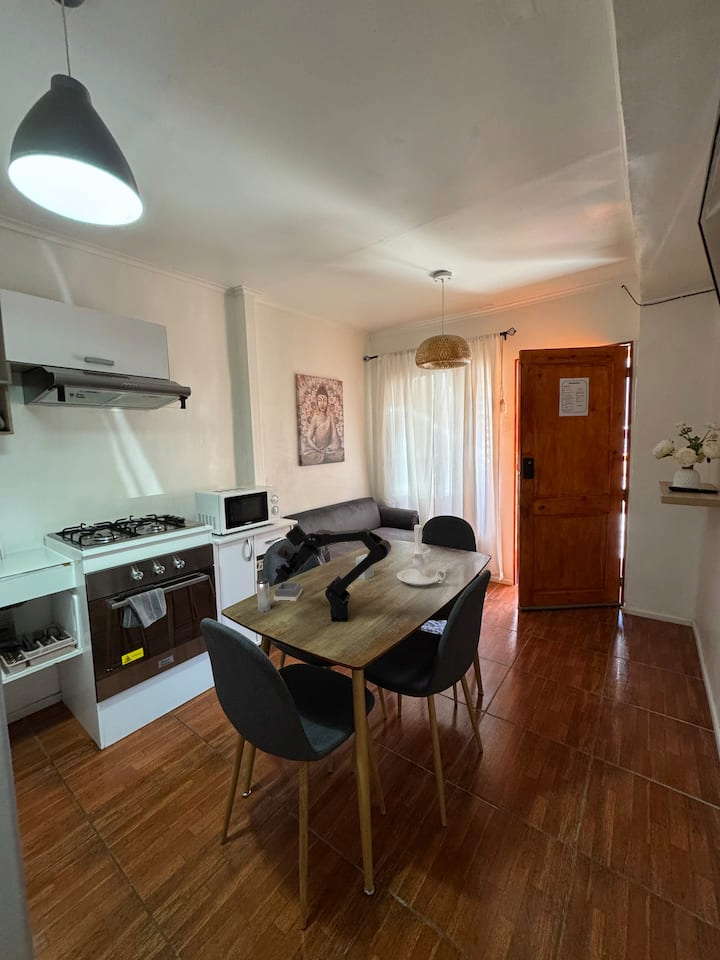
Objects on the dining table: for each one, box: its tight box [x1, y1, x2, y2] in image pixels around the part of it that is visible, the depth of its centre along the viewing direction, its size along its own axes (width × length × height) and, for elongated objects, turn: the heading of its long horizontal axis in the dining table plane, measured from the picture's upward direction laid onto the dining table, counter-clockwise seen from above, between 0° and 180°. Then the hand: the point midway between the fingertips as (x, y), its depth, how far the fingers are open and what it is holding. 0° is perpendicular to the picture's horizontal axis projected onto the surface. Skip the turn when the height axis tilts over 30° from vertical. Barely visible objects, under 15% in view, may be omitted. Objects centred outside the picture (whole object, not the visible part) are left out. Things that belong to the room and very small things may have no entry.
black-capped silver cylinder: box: [255, 577, 272, 613], centre depth 165 cm, size 5×5×12 cm
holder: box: [273, 581, 303, 602], centre depth 179 cm, size 10×10×4 cm
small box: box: [355, 553, 375, 581], centre depth 199 cm, size 8×6×10 cm
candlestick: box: [396, 524, 448, 587], centre depth 188 cm, size 21×25×28 cm
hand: (279, 579), depth 162 cm, fingers open, 9 cm apart
